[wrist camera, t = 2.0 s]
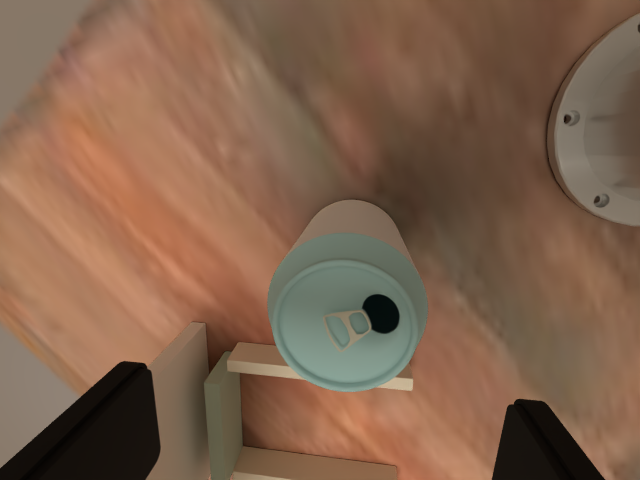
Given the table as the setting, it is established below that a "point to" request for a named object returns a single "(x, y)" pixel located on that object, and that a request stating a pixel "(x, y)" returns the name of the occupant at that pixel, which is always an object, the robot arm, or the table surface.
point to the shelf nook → (232, 417)
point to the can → (348, 300)
